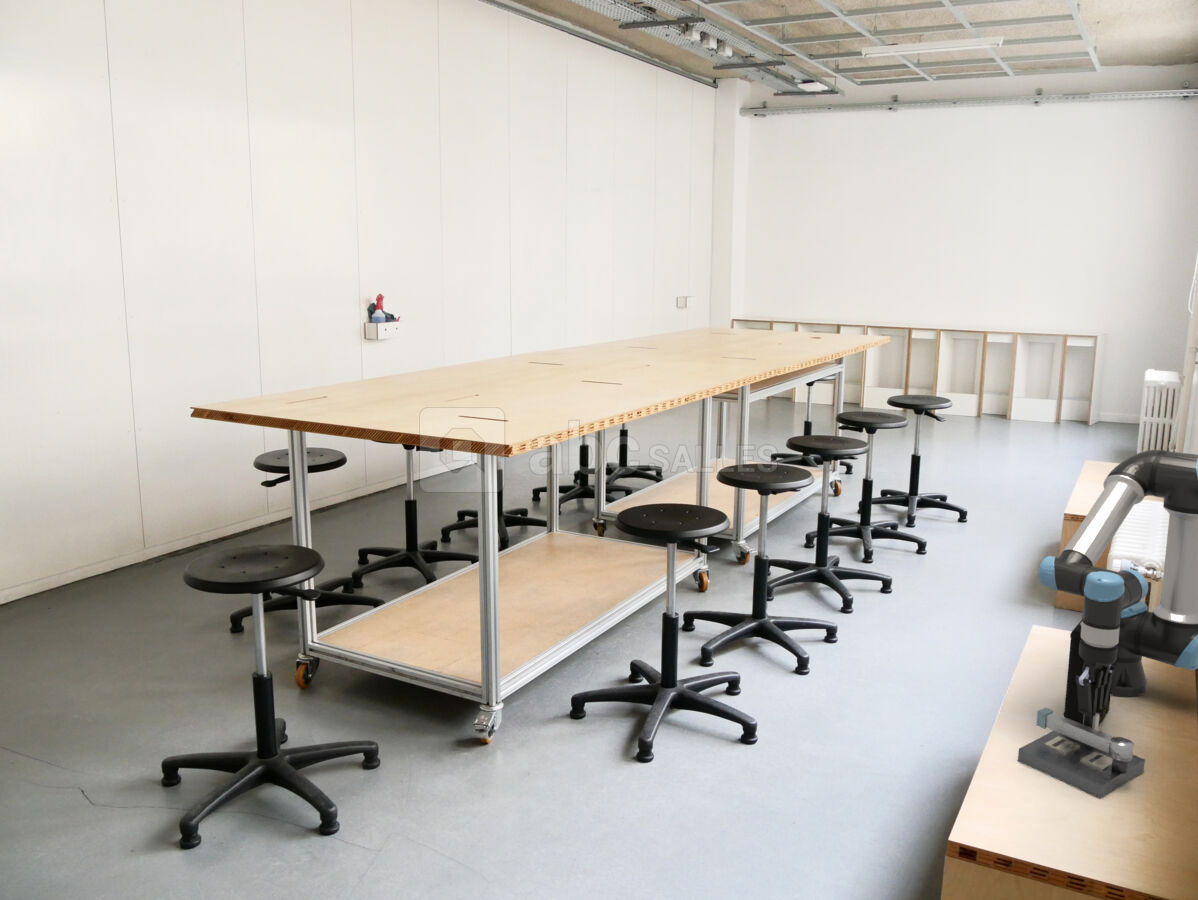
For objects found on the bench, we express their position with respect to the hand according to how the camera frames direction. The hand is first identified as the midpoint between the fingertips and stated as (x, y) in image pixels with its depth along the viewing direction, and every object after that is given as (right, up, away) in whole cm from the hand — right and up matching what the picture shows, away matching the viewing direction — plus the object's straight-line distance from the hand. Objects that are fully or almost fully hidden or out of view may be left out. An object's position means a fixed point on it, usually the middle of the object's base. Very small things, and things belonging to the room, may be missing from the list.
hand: (1089, 739), depth 216 cm
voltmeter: (+10, -1, +20) cm, 22 cm away
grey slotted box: (-3, -6, -2) cm, 7 cm away
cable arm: (-3, 0, -3) cm, 4 cm away
